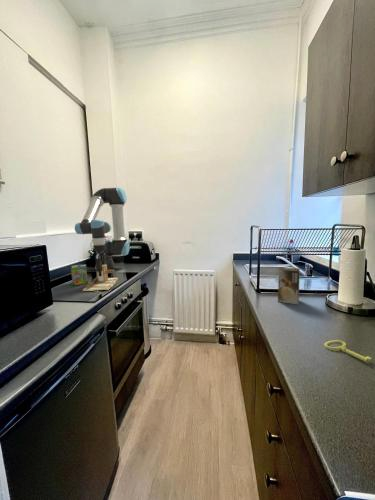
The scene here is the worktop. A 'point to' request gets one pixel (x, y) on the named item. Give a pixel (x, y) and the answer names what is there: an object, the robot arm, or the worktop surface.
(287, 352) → the worktop surface
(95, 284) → the guide board
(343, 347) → the key
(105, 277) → the marking gauge
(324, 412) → the worktop surface
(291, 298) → the coffee box
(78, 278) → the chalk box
